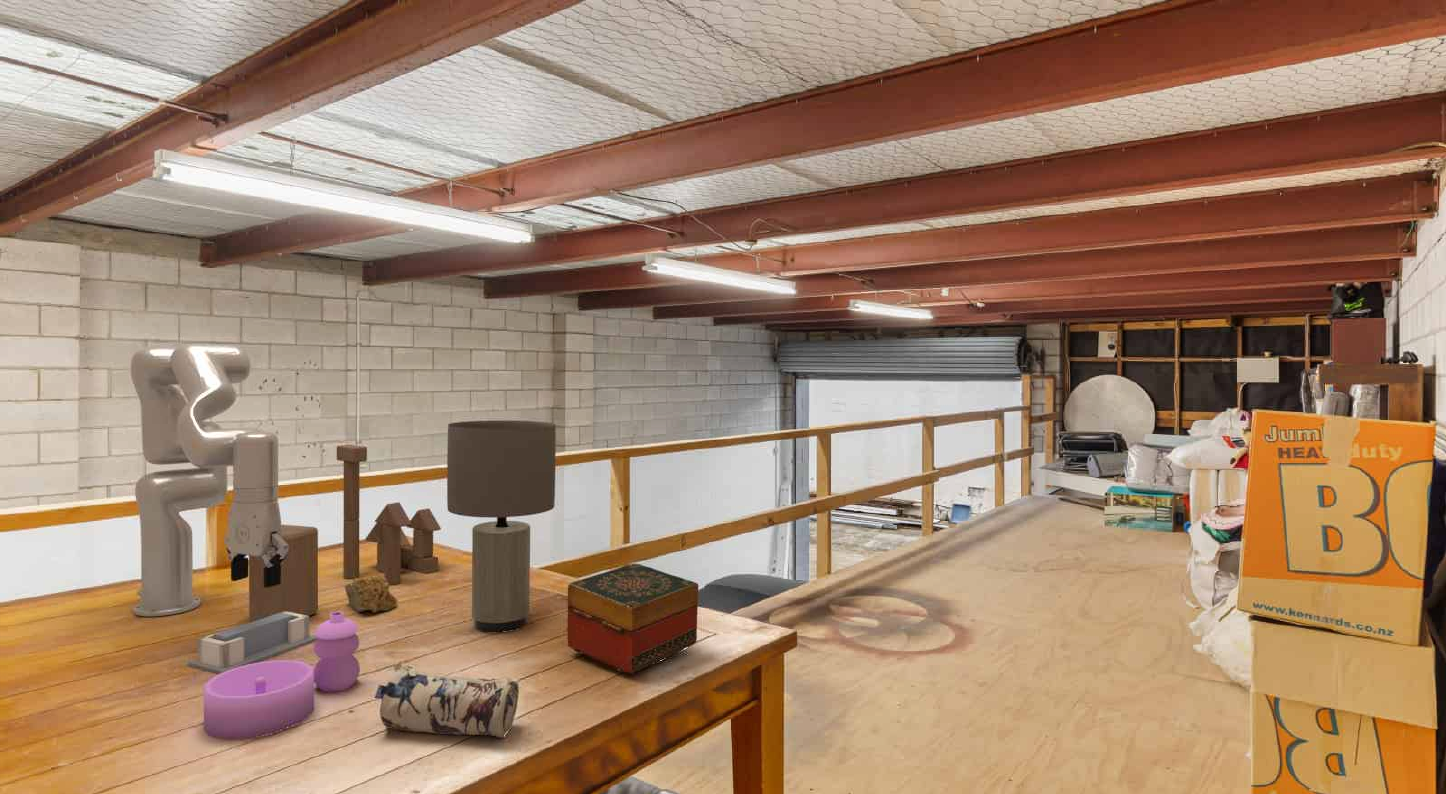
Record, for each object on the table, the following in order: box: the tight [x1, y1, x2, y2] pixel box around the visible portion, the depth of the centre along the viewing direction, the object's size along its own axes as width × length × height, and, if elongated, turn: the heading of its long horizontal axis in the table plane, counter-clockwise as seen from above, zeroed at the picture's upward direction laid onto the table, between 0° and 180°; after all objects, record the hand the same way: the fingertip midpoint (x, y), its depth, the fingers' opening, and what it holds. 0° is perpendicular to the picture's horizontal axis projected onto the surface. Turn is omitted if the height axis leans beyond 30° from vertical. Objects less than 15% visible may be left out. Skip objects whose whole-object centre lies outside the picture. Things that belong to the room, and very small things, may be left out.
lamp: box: [446, 420, 557, 633], centre depth 170 cm, size 23×23×44 cm
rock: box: [344, 576, 399, 614], centre depth 180 cm, size 12×9×10 cm
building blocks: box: [336, 444, 442, 586], centre depth 207 cm, size 19×25×35 cm
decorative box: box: [566, 563, 699, 674], centre depth 154 cm, size 20×22×16 cm
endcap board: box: [187, 611, 318, 675], centre depth 151 cm, size 10×20×5 cm, turn 157°
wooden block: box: [248, 524, 319, 622], centre depth 171 cm, size 10×10×20 cm
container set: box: [203, 610, 361, 740], centre depth 129 cm, size 25×15×13 cm, turn 153°
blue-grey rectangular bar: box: [213, 613, 293, 657], centre depth 151 cm, size 14×4×5 cm, turn 157°
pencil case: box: [374, 660, 521, 738], centre depth 121 cm, size 22×8×10 cm, turn 82°
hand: (255, 582), depth 151 cm, fingers open, 8 cm apart
